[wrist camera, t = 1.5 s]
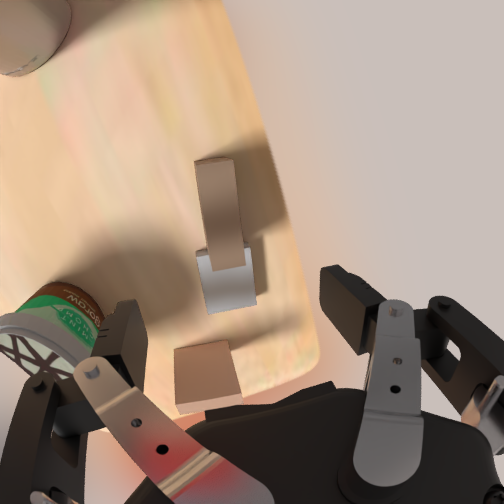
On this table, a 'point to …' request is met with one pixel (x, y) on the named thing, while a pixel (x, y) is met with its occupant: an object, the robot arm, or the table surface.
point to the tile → (205, 378)
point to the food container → (51, 330)
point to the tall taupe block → (223, 239)
